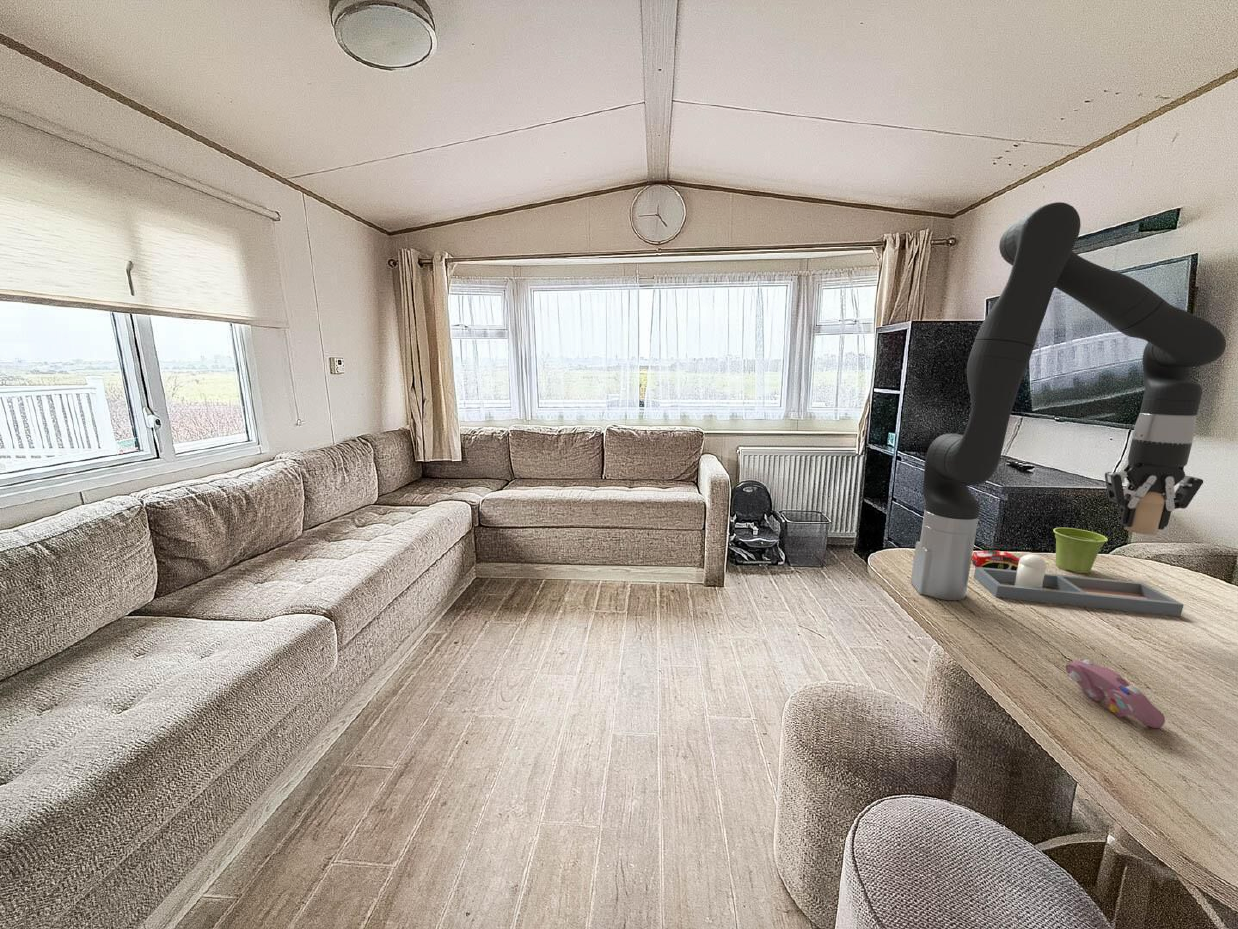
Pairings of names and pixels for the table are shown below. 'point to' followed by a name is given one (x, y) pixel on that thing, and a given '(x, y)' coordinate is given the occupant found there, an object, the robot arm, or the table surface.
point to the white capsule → (1030, 571)
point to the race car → (995, 560)
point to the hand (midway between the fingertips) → (1141, 526)
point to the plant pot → (1077, 549)
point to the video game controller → (1114, 692)
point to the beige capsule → (1147, 514)
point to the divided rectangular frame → (1082, 592)
